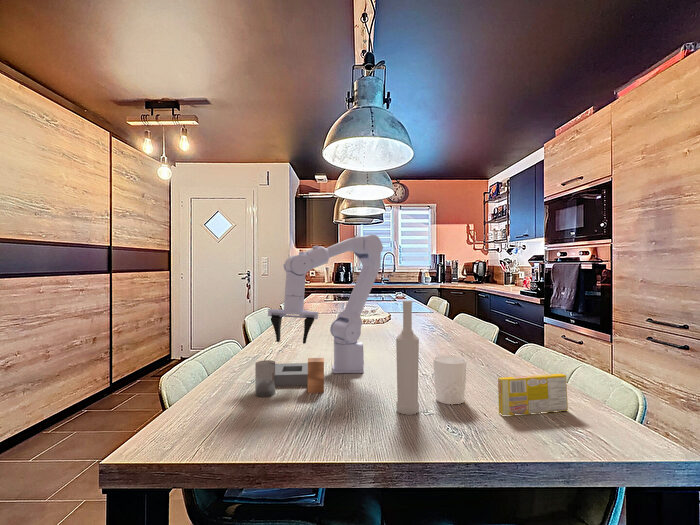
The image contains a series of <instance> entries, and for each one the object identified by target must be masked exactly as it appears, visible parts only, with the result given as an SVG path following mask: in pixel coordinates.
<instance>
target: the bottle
mask: <svg viewBox="0 0 700 525" xmlns="http://www.w3.org/2000/svg"><path fill="white" fill-rule="evenodd" d="M412 310H413V301H412V300H406V299H405V300H402V323H403V324H402V330H401V333H400V334H398V336H396V337H395V341H396V345H395V347H396V348H395V349H396V350H395V351H396V352H395V353H396V386H397V387H396V388H397V389H396V392H397V393H396V394H397V398H396V399H397V400H396V403H395V404H396V411H397V413H398V414H400V413H401V415H404V414H406V415H405V416H414V415H417V414H418V413H419V410H420V403H419V357H420V356H419V353H420V352H419V351H420V350H419V349H420V347H419V346H420V338H419V337H418V336H417V335H416V334H415V333H414V330H413V328H412V327H413V326H412V325H413V323H412V321H413V318H412V317H413V316H412V315H413V314H412ZM416 413H417V414H416ZM413 414H414V415H413Z"/></svg>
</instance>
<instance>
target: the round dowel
mask: <svg viewBox="0 0 700 525" xmlns="http://www.w3.org/2000/svg"><path fill="white" fill-rule="evenodd" d="M275 364H276V361H274V360H267V359H266V360H259V361H256V362H255V365H254V366H255V376H254V377H255V380H254V381H255V383H254V384H255V386H254V387H255V391H254V392H255V394H254V395H255V397H258V398H270V397H272V396H275V394H276V386H275Z"/></svg>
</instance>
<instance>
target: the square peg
mask: <svg viewBox="0 0 700 525" xmlns="http://www.w3.org/2000/svg"><path fill="white" fill-rule="evenodd" d="M307 363H308V385H307V393H308V394H310V393H311V394H312V393H313V394H315V393H318V394H319V393H325V379H324V378H325V358H324V357H308V358H307Z"/></svg>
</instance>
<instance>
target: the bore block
mask: <svg viewBox="0 0 700 525" xmlns="http://www.w3.org/2000/svg"><path fill="white" fill-rule="evenodd" d="M284 386H288V387H289V386H296V387H297V386H308V362H293V363H285V362H284V363H275V387H284Z"/></svg>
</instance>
